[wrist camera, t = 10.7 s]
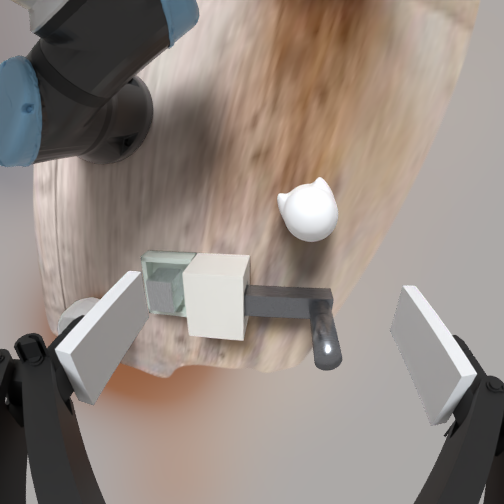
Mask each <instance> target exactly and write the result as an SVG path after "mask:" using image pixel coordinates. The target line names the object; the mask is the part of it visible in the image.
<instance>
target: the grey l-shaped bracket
mask: <svg viewBox="0 0 504 504" xmlns="http://www.w3.org/2000/svg"><path fill="white" fill-rule="evenodd" d="M332 306H333V296H332V292H331V289H328V288H301V287H279V286H259V285H246V288H245V292H244V315H246V316H262V317H280V318H304V319H310V324H311V332H312V342H313V351H314V361H315V365H316V367H317V368H319V369H321V370H332V369H335V368H336V367H338V366H339V365H340V363H341V362H342V354H341V350H340V345H339V341H338V337H337V332H336V328H335V323H334V319H333V315H332Z"/></svg>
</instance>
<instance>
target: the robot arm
mask: <svg viewBox="0 0 504 504" xmlns="http://www.w3.org/2000/svg"><path fill="white" fill-rule="evenodd" d="M11 1H13V2H15V3H16V4H18V5H20V6H22V7H24V8H25V9H27V10H28V12H29V17H30V31H31V32H32V33H34V34H36V35H38V36H39V37H41V39H40V40H39V41H38V42H37V44H36V45H35V46H34V47H33V48H32V50H31V51H30V53H29V54H28V55H27V56H26V57H23V56H16V57H12V58H9V59H8V60H6V61H4V62H3V63H1V64H0V165H1V166H5V167H14V166H24V167H26V166H29V165H31V164H35V163H40V162H45V161H50V160H56V159H61V158H68V157H74V156H77V157H79V158H82V159H84V160H86V161H89V162H92V163H96V164H107V163H113V162H117V161H120V160H123V159H125V158H126V157H128V156H130V155H131V154H132V153H133V152H134V151H135V150H136V149H137V148H138V147H139V146H140V145H141V143H142V142H143V140H144V139H145V137H146V135H147V133H148V130H149V128H150V124H151V120H152V113H153V106H152V99H151V95H150V92H149V90H148V88H147V86H146V85H145V83H144V82H143V81H142V80H141V79H140V78H139V77H137V76H136V74H137V73H139V72H140V71H141V70H142V69H143V68H144V67H145V66H147V65H148V64H149V63H150V62H151V61H152V60H154V59H155V58H156V57H157V56H158V55H160V54H161V53H162V52H163V51H165V50H166V49H167V48H168V49H170V48H171V47H172V46H173V45H174V42H176V41H177V40H178V39H179V38H180V37H182V36H183V35H184V34H185V33H187V32H188V31H189V30H191V29H192V28H193V27H194V26H195V25H196V23H197V22H198V19H199V8H198V5H197V2H196V0H11ZM148 318H149V315H148V309H147V304H146V298H145V292H144V285H143V279H142V272H137V271H128V272H127V273H126V274H125V275H124V276H123V277H122V278H121V279H120V280H119V281H118V282H117V283H116V284H115V285H114V286H113V287H112V288H111V289H110V290H109V291H108V292H107V293H106V294H105V295H104V296H103V297H102V298H101V299H100V300H99V301H98V302H97V304H96V305H95V306H94V307H93V308H92V309H91V310H90V311H89V312H88V313H87V314H86V315H81V316H79V317H78V318H76V319H74V320H73V321H72V322H71V323H70V324H69V325H68V326H67V328H65V329H64V330H63V331H62V334H60V335H59V336H58V337H57V338H56V339H55V340H54V341H53V342H52V343H51V345H50V346H49V347H48V348H46V346H45V343H44V341H43V339H42V336H40V335H39V334H36V333H31V334H26V335H24V336H22V337H21V338H19V339H18V340H17V342H16V343H15V345H14V348H15V350H16V352H17V354H18V356H19V358H20V360H18V359H12V357H11V355H10V353H9V351H8V350H6V349H0V504H26V469H27V455H28V458H29V464H30V469H31V474H32V479H33V484H34V488H35V492H36V496H37V500H38V504H106V503H105V501H104V499H103V496H102V494H101V491H100V489H99V486H98V484H97V481H96V478H95V476H94V473H93V471H92V468H91V465H90V462H89V459H88V456H87V453H86V450H85V447H84V443H83V440H82V436H81V433H80V430H79V426H78V422H77V418H76V414H75V410H74V406H73V402H72V400H71V398H70V396H71V394H72V393H73V391H74V392H75V394H76V396H77V398H78V400H79V401H82V402H85V403H88V404H91V405H94V404H95V402H96V401H97V399H98V397H99V396H100V394H101V392H102V391H103V389H104V387H105V386H106V384H107V382H108V381H109V379H110V377H111V376H112V374H113V373H114V371H115V369H116V368H117V366H118V365H119V363H120V361H121V360H122V358H123V357H124V355H125V353H126V352H127V350H128V349H129V347H130V346H131V344H132V342H133V341H134V339H135V338H136V336H137V335H138V333H139V332H140V330H141V328H142V327H143V325H144V324H145V322H146V321H147V319H148ZM390 332H391V334H392V336H393V338H394V340H395V342H396V344H397V346H398V348H399V351H400V353H401V355H402V357H403V359H404V362H405V364H406V366H407V368H408V370H409V373H410V375H411V378H412V380H413V382H414V384H415V387H416V389H417V392H418V394H419V397H420V399H421V401H422V404H423V406H424V409H425V412H426V414H427V417H428V419H429V422H430V424H431V426H433V425H437V424H442V423H446V422H447V420H448V419H449V418H450V416H451V414H452V413H453V414H454V417H455V419H456V420H455V421H454V423H453V424H452V425H451V426H450V428H449V429H448V431H447V432H446V433H445V435H444V436H445V437H446V436H447V434H448V436H447V438H446V441H445V443H444V445H443V448H442V450H441V452H440V454H439V457H438V459H437V461H436V463H435V465H434V467H433V469H432V471H431V473H430V475H429V477H428V479H427V481H426V483H425V485H424V487H423V488H422V490H421V492H420V494H419V495H418V497H417V499H416V501H415V502H414V504H478V503H479V501H480V498H481V495H482V492H483V490H484V487H485V484H486V488H485V496H484V503H483V504H504V383H503V382H502V381H501V380H500V379H498V378H497V377H494V376H487V375H486V373H485V372H484V371H483V369H482V367H481V366H480V364H479V363H478V361H477V360H476V359H475V357H474V356H473V354H472V352H471V351H470V350H469V348H468V346H467V345H466V344H465V342H464V341H463V340H462V339H460V338H459V337H458V336H456V335H451V333H450V332H449V330H448V329H447V328H446V326H445V325H444V324H443V322H442V321H441V319H440V318H439V316H438V315H437V314H436V312H435V311H434V310H433V308H432V307H431V306H430V304H429V303H428V302H427V300H426V299H425V298H424V296H423V295H422V294H421V293H420V291H419V290H418V289H417V287H416V286H402V290H401V294H400V298H399V301H398V305H397V308H396V312H395V315H394V319H393V322H392V326H391V329H390ZM5 398H7V401H6V403H5Z"/></svg>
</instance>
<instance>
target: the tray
mask: <svg viewBox="0 0 504 504" xmlns="http://www.w3.org/2000/svg"><path fill="white" fill-rule="evenodd" d="M196 255H197V253H189V252H169V251H147V252H146V253H144V254H143V255H142V256H141V263H142V271H143V278H144V284H145V291H146V297H147V303H148V309H149V313H155V314H164V315H172V316H182V317H187V314H186V305H185V296H184V299H183V300H182V302H181V303H180V305H179V306H178V308H177V310H176V311H175V313H169V312H161V311H152V310H150V305H149V299H148V293H147V286H146V280H147V279H148V278H149V277H150V276H151V275H152V274H153V273H154V272H155V270H156V269H157V268H173V269H182V273H183V272H184V270H185V269H186V268H187V266H188V265H189V264H190V262H191V261H192V260H193V259H194V257H195V256H196ZM182 279H183V275H182ZM183 289H184V285H183Z"/></svg>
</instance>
